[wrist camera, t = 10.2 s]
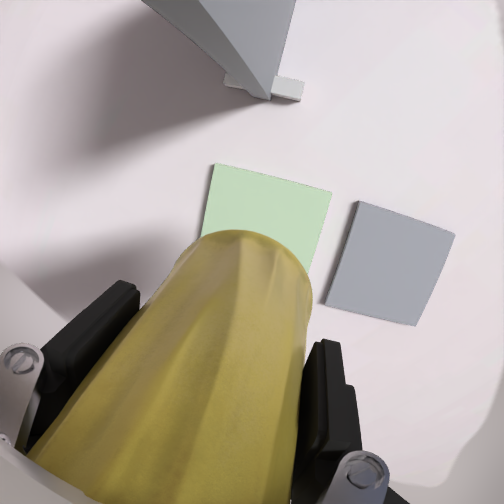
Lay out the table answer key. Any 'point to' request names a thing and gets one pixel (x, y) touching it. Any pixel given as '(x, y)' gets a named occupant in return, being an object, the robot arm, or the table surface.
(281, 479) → the vase
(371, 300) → the pad slate
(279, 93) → the screen
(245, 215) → the pad sage
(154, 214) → the table surface
